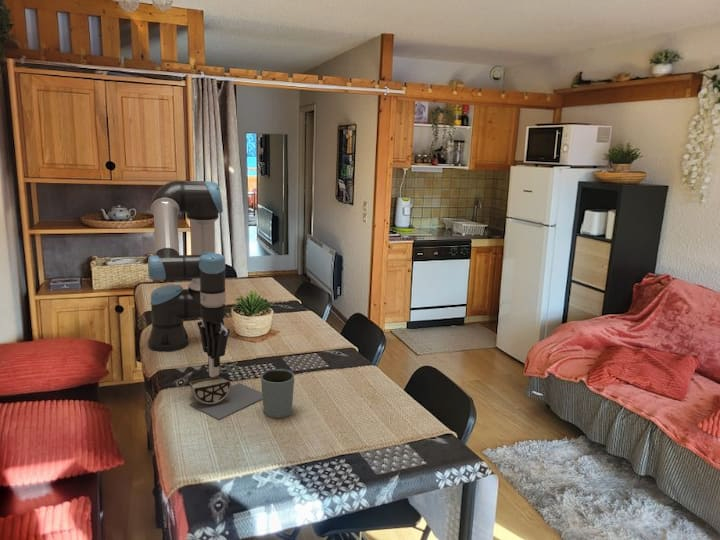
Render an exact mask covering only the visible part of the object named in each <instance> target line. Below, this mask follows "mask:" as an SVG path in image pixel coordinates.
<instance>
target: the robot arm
mask: <svg viewBox="0 0 720 540" xmlns="http://www.w3.org/2000/svg"><path fill="white" fill-rule="evenodd" d="M223 211H224V210H223V201H222V195H221V189H220V187H219V184H218V183H217V182H216V181H209V180H208V181H206V180H184V181H183V180H173V181H170V182H168V183H167V182H166V183H165V184H163V185H162V186H161V187H160V188H158V189H157V190H156V192H155V193H154V194H153V197H152V198H151V201H150V213H151V214H152V215H153V228H154V231H153V236H154V255H149V256H148V259H147V271H148V278H149V279H150V280H153V281H159V280H160V281H168V280H172V281H173V280H184V279H185V280H188V279H189V280H191V281H190V282H189V283H188V286H187V287H188V288H186V289H184V287H183V286H182V285H179V284H169V285H163V286H161V287H157V288H156V289H154V290H153V291H152V292H151V294H150V306H151V311H150V312H151V330H150V333H149V337H148V340H147V346H148V349H150V350H151V351H153V352H154V351H155V352H162V351H166V352H174V350H175V351H178V350H179V351H180V350H181V349H182V350H183V349H185V348H186V347H187V346H188V345H190V343H189V340H190V339H189V335H188V333H187V330H186V327H185V325H184V320H186V319H187V320H189V319H202V320H201V321H198V322H197V323H196V325H197V326H198V329H199V334H200V339H201V345H202V346H201V347H202V351H203V353H206V356H207V359H208V361H207V363H208V365H209V366H208V368H209V369H208V371H209V374H208V375H209V377H210V378H213V377H218V376H219V375H220V366H221V357H224V356H225V355H226V350H227V349H226V348H227V344H228V337H229V335H230V333H231V330H230V329H229V328H226V327H225V321H224V318H225V317H226V315H227V312H226V311H227V309H226V307H227V305H226V303H227V300H226V299H227V297H226V296H227V295H226V293H227V292H226V268H227V267H226V266H227V265H226V260H225V259H226V258H225V256H224V255H223V254H220V253H215V252H216V250H215V249H216V248H215V238H216V237H215V222H216V221H217V220H218V219H219V214H222V213H223ZM180 214H186V219H187V220H189V221H190V236H191V237H190V239H191V240H190V241H191V242H190V243H191V244H190V245H191V247H190V248H191V254H180V239H179V228H178V215H180Z"/></svg>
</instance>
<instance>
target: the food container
mask: <svg viewBox="0 0 720 540" xmlns="http://www.w3.org/2000/svg"><path fill="white" fill-rule="evenodd" d="M188 382H189V387H190V390H191V391H190V392H191V394H192V396H193V398H194V399H195V401H199V402H201V403H203V404H215V403H218V402H220V401H221V400H223V399H224V398H225V397H226V396H227V394H228V393H229V391H230V387H231V386H232V381H231V380H227V379H225V378H223V377H220V376H214V377H209V378H204V379H198V380H197V379H196V380H194V381H193V380H191V381H188Z"/></svg>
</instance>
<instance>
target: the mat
mask: <svg viewBox="0 0 720 540" xmlns="http://www.w3.org/2000/svg"><path fill="white" fill-rule="evenodd" d="M260 401H263V396H262V391H259V390H257V389H254V388H252V387H250V386H247V385H246V384H243V383H241V382H238V383H236V384H233V385H231V387H230V391H229V393H228V394H227V396H226V397H225V398H224V399H223V400H221V401H220V402H218V403H215V404H203V403H201V402H199V401H197V400H195V401H193V402H191V403H189V404H188V405H189V406H190V407H192V408H194V409H196V410H198V411H200V412H202V413H204V414H205V415H208V416H209V417H212V418H214V419H216V420H218V421H220V420H223V419H224V418H227V417H229V416H231V415H233V414H235V413H237V412H239V411H241V410H243V409H246V408H248V407H250V406H252V405H255V404H256V403H259V402H260Z"/></svg>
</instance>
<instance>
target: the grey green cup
mask: <svg viewBox="0 0 720 540" xmlns="http://www.w3.org/2000/svg"><path fill="white" fill-rule="evenodd" d="M260 381H261V384H260V385H261V392H262V396H263V400H262V406H263V413H264V416H266V417H267V418H270V419H275V420H276V419H277V420H278V419H284V418H287V417H289V416H290V415H291V414H292V413H293V399H294V386H295V374H294V372H293V371H292V370H289V369H285V368H275V369H274V368H273V369H267V370H266V371H263V372H262V374H261V375H260Z"/></svg>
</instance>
